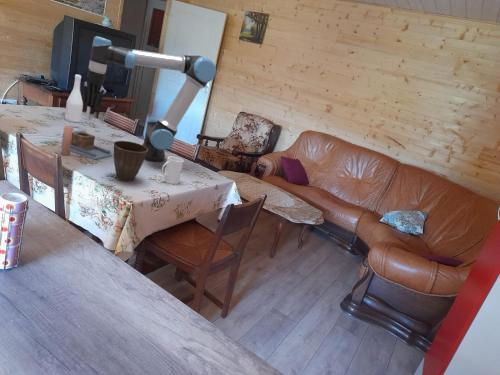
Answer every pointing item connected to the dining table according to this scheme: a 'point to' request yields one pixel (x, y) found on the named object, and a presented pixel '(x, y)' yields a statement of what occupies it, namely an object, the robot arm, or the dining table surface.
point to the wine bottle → (74, 103)
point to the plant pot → (128, 159)
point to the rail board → (90, 151)
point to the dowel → (67, 140)
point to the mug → (172, 170)
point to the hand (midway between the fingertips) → (88, 119)
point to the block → (83, 140)
